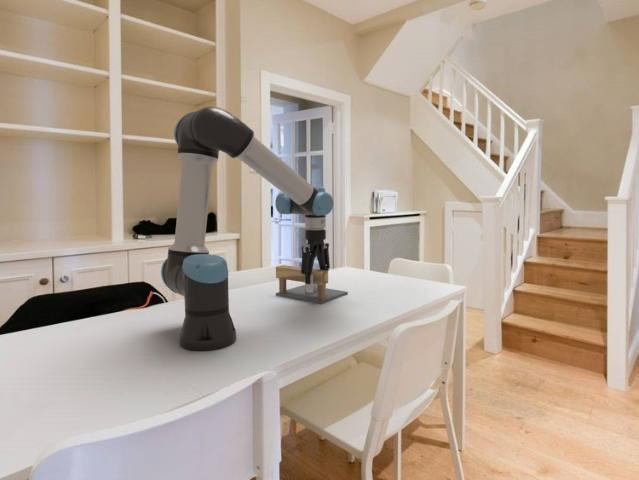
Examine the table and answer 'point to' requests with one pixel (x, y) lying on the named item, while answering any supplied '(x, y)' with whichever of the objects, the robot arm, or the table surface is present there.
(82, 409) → the table surface
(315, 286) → the ridge
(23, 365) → the table surface
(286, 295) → the board
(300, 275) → the oak batten
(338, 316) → the table surface
